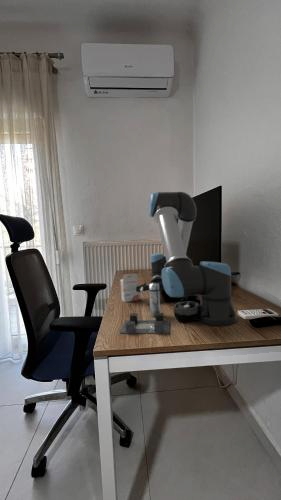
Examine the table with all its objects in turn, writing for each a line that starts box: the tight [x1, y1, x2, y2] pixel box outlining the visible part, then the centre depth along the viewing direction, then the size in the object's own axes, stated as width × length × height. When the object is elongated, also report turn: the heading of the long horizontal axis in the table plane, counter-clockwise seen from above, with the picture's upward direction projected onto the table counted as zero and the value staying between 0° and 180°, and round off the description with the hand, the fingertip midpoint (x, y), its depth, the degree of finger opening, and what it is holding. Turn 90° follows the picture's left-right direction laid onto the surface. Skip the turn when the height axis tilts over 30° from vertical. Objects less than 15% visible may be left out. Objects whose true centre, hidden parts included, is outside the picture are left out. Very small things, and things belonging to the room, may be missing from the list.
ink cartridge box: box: [120, 272, 140, 303], centre depth 132 cm, size 9×5×15 cm, turn 112°
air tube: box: [148, 283, 161, 318], centre depth 105 cm, size 4×4×14 cm
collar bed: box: [119, 312, 171, 335], centre depth 93 cm, size 18×12×3 cm, turn 84°
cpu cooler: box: [173, 301, 200, 324], centre depth 100 cm, size 10×6×10 cm
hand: (155, 292), depth 114 cm, fingers open, 13 cm apart
